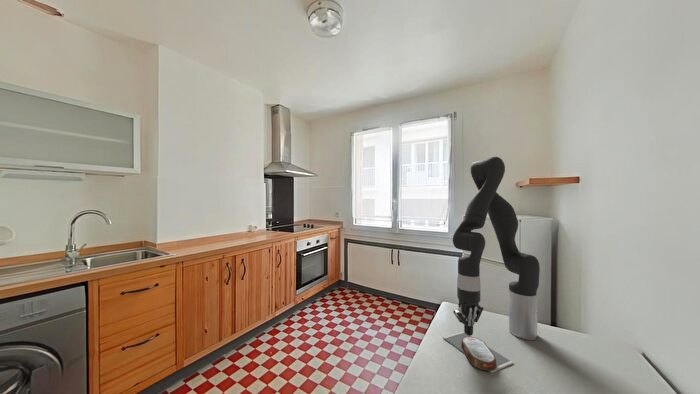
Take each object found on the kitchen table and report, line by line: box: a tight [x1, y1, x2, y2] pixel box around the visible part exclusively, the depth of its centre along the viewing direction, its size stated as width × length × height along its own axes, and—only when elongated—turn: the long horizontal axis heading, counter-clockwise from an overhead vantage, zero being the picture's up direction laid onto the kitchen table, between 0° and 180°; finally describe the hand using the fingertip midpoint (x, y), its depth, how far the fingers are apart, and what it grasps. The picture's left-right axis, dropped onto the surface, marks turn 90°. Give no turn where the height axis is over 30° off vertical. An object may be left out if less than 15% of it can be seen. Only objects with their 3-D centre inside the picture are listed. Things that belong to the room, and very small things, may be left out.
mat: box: [443, 330, 514, 374], centre depth 86 cm, size 11×20×1 cm, turn 23°
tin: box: [461, 336, 496, 372], centre depth 82 cm, size 15×3×8 cm
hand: (468, 334), depth 84 cm, fingers closed
